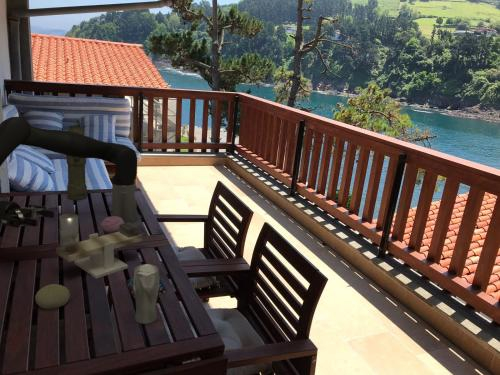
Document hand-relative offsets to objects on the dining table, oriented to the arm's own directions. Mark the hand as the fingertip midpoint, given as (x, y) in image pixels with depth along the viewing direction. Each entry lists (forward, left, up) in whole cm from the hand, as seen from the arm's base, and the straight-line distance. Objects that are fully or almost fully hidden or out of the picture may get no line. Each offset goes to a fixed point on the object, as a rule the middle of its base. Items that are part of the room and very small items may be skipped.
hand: (45, 218), depth 143 cm
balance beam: (-15, +8, -10) cm, 20 cm away
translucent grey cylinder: (-4, +7, -9) cm, 12 cm away
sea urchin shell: (+8, +20, -18) cm, 28 cm away
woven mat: (-17, +30, -19) cm, 39 cm away
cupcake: (-29, -8, -18) cm, 36 cm away
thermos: (-44, -64, -18) cm, 80 cm away
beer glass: (-7, +44, -18) cm, 48 cm away
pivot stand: (-15, +8, -18) cm, 25 cm away
